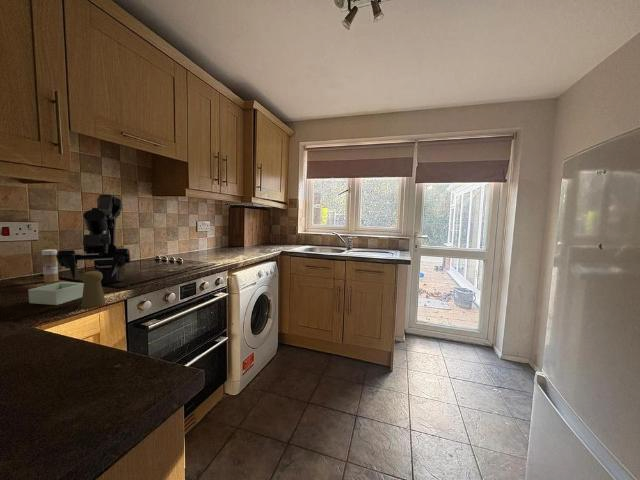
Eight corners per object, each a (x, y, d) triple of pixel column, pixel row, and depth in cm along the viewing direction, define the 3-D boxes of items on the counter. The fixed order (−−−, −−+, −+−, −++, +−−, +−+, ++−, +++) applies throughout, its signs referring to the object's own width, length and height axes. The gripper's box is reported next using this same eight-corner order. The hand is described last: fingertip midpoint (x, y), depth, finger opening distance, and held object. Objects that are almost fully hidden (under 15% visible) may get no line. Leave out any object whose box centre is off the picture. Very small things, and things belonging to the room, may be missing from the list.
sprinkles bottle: (43, 283, 108) (41, 250, 107) (44, 281, 112) (42, 249, 111) (58, 281, 112) (56, 250, 110) (59, 279, 115) (57, 248, 114)
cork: (91, 309, 82) (89, 274, 81) (75, 307, 83) (73, 272, 82) (110, 303, 88) (108, 270, 87) (95, 301, 89) (94, 269, 88)
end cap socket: (62, 294, 96) (61, 281, 95) (87, 295, 94) (86, 283, 94) (29, 303, 86) (28, 289, 85) (56, 304, 85) (55, 291, 84)
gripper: (56, 225, 84) (45, 265, 75) (128, 225, 94) (125, 261, 85) (65, 247, 91) (56, 286, 83) (131, 245, 101) (129, 280, 92)
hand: (93, 277), depth 86 cm, fingers open, 9 cm apart
